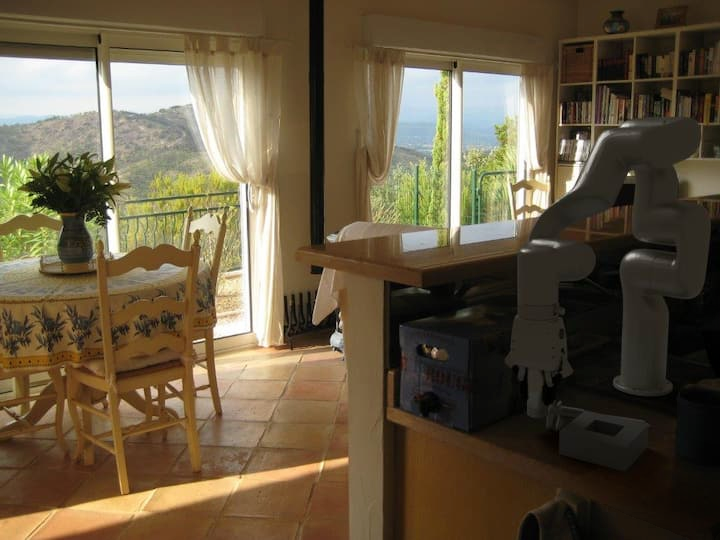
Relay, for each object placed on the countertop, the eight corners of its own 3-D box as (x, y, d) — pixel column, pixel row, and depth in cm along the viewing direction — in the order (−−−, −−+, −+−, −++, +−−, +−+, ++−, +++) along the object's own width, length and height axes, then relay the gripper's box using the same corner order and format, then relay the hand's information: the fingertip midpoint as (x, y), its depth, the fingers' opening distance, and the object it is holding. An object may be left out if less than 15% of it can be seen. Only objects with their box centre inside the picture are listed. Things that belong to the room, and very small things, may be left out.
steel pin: (532, 408, 145) (532, 360, 142) (551, 412, 142) (551, 364, 140) (523, 415, 142) (523, 366, 139) (542, 419, 139) (542, 370, 137)
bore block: (584, 432, 141) (585, 410, 140) (647, 447, 133) (648, 424, 133) (558, 454, 132) (559, 431, 131) (625, 471, 124) (626, 447, 123)
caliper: (547, 432, 142) (548, 401, 141) (546, 429, 143) (546, 399, 142) (651, 428, 142) (652, 398, 141) (648, 426, 143) (650, 396, 142)
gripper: (588, 311, 135) (586, 403, 139) (507, 301, 146) (508, 387, 149) (571, 321, 130) (571, 416, 133) (489, 309, 140) (490, 398, 144)
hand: (537, 400), depth 141 cm, fingers closed on steel pin, 4 cm apart
